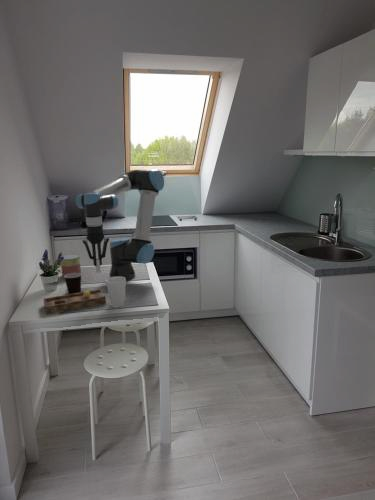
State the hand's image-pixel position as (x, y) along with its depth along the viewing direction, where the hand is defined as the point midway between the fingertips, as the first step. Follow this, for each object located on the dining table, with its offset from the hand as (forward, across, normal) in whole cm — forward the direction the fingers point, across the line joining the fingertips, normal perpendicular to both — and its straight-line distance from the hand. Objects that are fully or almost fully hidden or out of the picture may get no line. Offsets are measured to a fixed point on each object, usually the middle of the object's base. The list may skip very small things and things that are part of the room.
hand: (98, 271), depth 193 cm
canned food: (+15, +8, -49) cm, 52 cm away
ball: (+11, +7, 0) cm, 13 cm away
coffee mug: (+15, +10, -18) cm, 26 cm away
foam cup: (+15, -6, +10) cm, 19 cm away
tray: (+15, +13, 0) cm, 20 cm away
